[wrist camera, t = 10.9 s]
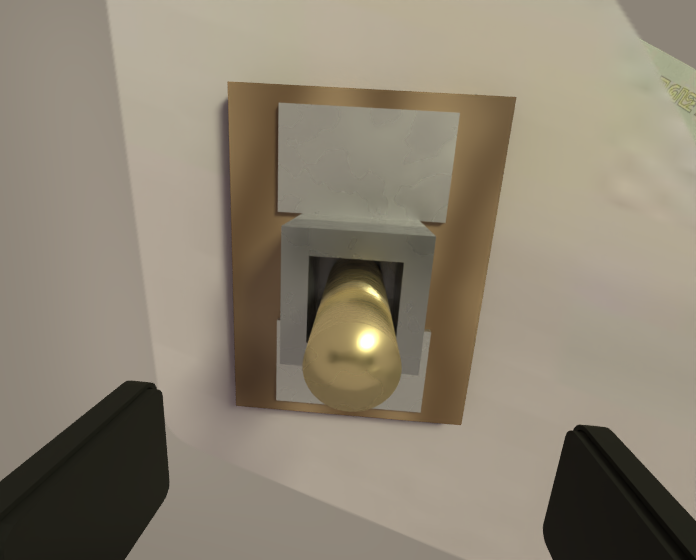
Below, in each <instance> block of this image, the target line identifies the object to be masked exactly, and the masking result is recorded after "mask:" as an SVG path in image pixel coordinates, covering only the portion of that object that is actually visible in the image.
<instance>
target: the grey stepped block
mask: <svg viewBox="0 0 696 560" xmlns="http://www.w3.org/2000/svg"><path fill="white" fill-rule="evenodd" d="M459 117H460V113H455V112H437V111H420V110H402V109H384V108H366V107H348V106H330V105H312V104H294V103H279V121H278V212H290V213H302V214H301V215H299V216H297V217H296V218H294V219H292V220H290V221H289V222H287V223H285V224H284V225H282V226H281V307H280V318H278V319H277V374H276V400H279V401H291V402H302V403H314V404H324V403H322V402H321V401H319V400H318V399H317V398H316V397H315V396H314V395H313V394H312V392H311V391H310V390H309V388H308V386H307V384H306V382H305V379H304V376H303V370H302V364H303V357H304V354H305V350H306V347H307V344H308V341H309V337H310V334H311V331H312V328H313V325H314V321H315V318H316V315H317V312H318V308H319V305H320V302H321V299H322V295H323V292H324V289H325V286H326V282H327V279H328V276H329V273H330V271H331V269H332V267H333V266H334V265H335V263H337V262H338V261H339V260H340V259H342V258H346V259H361V260H372V261H373V262H375V263H376V264H377V266H378V267H379V269H380V270H381V273H382V276H383V281H384V285H385V290H386V294H387V299H388V303H389V308H390V313H391V317H392V322H393V326H394V331H395V336H396V340H397V345H398V349H399V354H400V358H401V365H402V370H401V377H400V381H399V383H398V386H397V387H396V389H395V391H394V392H393V393H392V395H391V396H390V397H389V398H388V399H387V400H385V401H384V402H383V403H381V404H380V405H378V406H376V407H374V408H372V409H384V410H396V411H407V412H419V413H421V405H422V398H423V390H424V383H425V375H426V367H427V360H428V352H429V345H430V337H431V330H429V329H425V321H426V313H427V305H428V297H429V289H430V281H431V273H432V265H433V257H434V250H435V242H436V236H435V235H434V234H433V233H432V232H431V231H430V230H429V229H428V228H427V227H426V226H425V225H424V224H422V223H421V222H420V221H425V222H440V223H446V215H447V208H448V200H449V193H450V185H451V178H452V170H453V162H454V155H455V147H456V140H457V132H458V124H459Z"/></svg>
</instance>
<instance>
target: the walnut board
mask: <svg viewBox="0 0 696 560" xmlns="http://www.w3.org/2000/svg"><path fill="white" fill-rule="evenodd" d="M515 102H516V97H504V96H486V95H467V94H449V93H430V92H412V91H393V90H375V89H356V88H338V87H319V86H300V85H282V84H263V83H245V82H228V116H229V154H230V192H231V230H232V268H233V306H234V344H235V382H236V406H246V407H258V408H269V409H281V410H293V411H304V412H316V413H327V414H339V415H350V416H362V417H373V418H385V419H396V420H408V421H420V422H431V423H443V424H454V425H461V423H462V417H463V411H464V405H465V399H466V393H467V387H468V381H469V375H470V370H471V364H472V358H473V352H474V346H475V340H476V334H477V328H478V322H479V316H480V310H481V304H482V298H483V292H484V286H485V280H486V275H487V269H488V263H489V257H490V251H491V245H492V239H493V233H494V227H495V221H496V215H497V209H498V203H499V197H500V191H501V185H502V179H503V174H504V168H505V162H506V156H507V150H508V144H509V138H510V132H511V126H512V120H513V114H514V108H515ZM279 103H294V104H312V105H330V106H348V107H366V108H384V109H402V110H420V111H437V112H455V113H460V117H459V124H458V132H457V140H456V147H455V155H454V162H453V170H452V178H451V185H450V193H449V200H448V208H447V215H446V223H440V222H425V221H420V222H421V223H422V224H424V225H425V226H426V227H427V228H428V229H429V230H430V231H431V232H432V233H433V234H434V235H435V236H436V242H435V250H434V257H433V265H432V273H431V281H430V289H429V297H428V305H427V313H426V321H425V329H429V330H431V337H430V345H429V352H428V360H427V367H426V375H425V383H424V390H423V398H422V405H421V413H419V412H407V411H396V410H384V409H372V408H371V409H368V410H364V411H358V412H347V411H341V410H337V409H334V408H331V407H329V406H327V405H325V404H314V403H302V402H291V401H279V400H276V374H277V319H278V318H280V307H281V226H282V225H284V224H285V223H287V222H289V221H290V220H292V219H294V218H296V217H297V216H299V215H301V214H302V213H290V212H278V121H279Z"/></svg>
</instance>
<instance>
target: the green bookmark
mask: <svg viewBox="0 0 696 560" xmlns="http://www.w3.org/2000/svg"><path fill="white" fill-rule="evenodd" d="M639 39H640V38H639ZM640 40H641V41H642V43H643V45H644V47H645V48H646V51H647V52H648V54H649V56H650V57H651V59H652V61H653V63H654V65H655V67H656V68H657V71H658V72H659V74H660V76H661V78H662V80H663V82H664V83H665V86H666V88H667V89H668V92H669V93H670V95H671V97H672V99H673V101H674V103H675V104H676V107H677V108H678V110H679V112H680V114H681V116H682V118H683V120H684V122H685V123H686V126H687V127H688V129H689V132H690V133H691V135H692V137H693V139H694V141H695V142H696V69H694V68H692V67H691V66H689V65H687V64H685V63H683V62H682V61H680V60H678V59H676V58H674V57H673V56H671V55H669V54H667V53H665V52H664V51H662V50H660V49H658V48H656V47H654V46H653V45H651V44H649V43H647V42H645V41H644V40H642V39H640Z"/></svg>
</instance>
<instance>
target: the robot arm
mask: <svg viewBox="0 0 696 560" xmlns="http://www.w3.org/2000/svg"><path fill="white" fill-rule="evenodd" d="M168 489H169V470H168V457H167V445H166V432H165V419H164V407H163V395H162V392H161V391H160V390H157V388H156V386H155V384H153V383H149V382H140V381H126V382H124V383H123V384H121V385H120V386H119V387H118V388H117V389H115V390H114V391H113V392H111V393H110V394H109V395H108V396H106V397H105V398H104V399H103V400H101V401H100V402H99V403H98V404H97V405H95V406H94V407H93V408H92V409H90V410H89V411H88V412H86V413H85V414H84V415H83V416H81V417H80V418H79V419H78V420H76V422H74V423H73V424H72V425H70V426H69V427H68V428H66V429H65V430H64V431H63V432H61V433H60V434H59V435H58V436H57V437H55V438H54V439H53V440H52V441H50V442H49V443H48V444H46V445H45V446H44V447H43V448H41V449H40V450H39V451H38V452H37V453H35V454H34V455H33V456H31V457H30V458H29V459H28V460H26V461H25V462H24V463H23V464H21V465H20V466H19V467H18V468H16V469H15V470H14V471H13V472H11V473H10V474H9V475H8V476H6V477H5V478H4V479H3V480H2V481H1V482H0V560H125V558H126V557H127V555H128V554H129V552H130V551H131V549H132V548H133V546H134V545H135V543H136V541H137V540H138V538H139V537H140V536H141V534H142V533H143V531H144V530H145V528H146V527H147V525H148V524H149V522H150V521H151V519H152V518H153V516H154V515H155V513H156V512H157V510H158V509H159V507H160V506H161V504H162V503H163V501H164V499H165V498H166V495H167V493H168ZM543 535H544V540H545V543H546V546H547V548H548V550H549V552H550V555H551V557H552V559H553V560H696V521H695V520H694V519H693V518H692V516H691V515H690V514H689V513H688V512H687V511H686V510H685V509H684V508H683V507H682V506H681V505H680V504H679V503H678V501H677V500H676V499H675V498H674V497H673V496H672V495H671V494H670V493H669V492H668V491H667V490H666V489H665V487H664V486H663V485H662V484H661V483H660V482H659V481H658V480H657V479H656V478H655V477H654V476H653V475H652V474H651V472H650V471H649V470H648V469H647V468H646V467H645V466H644V465H643V464H642V463H641V462H640V461H639V460H638V459H637V457H636V456H635V455H634V454H633V453H632V452H631V451H630V450H629V449H628V448H627V447H626V446H625V445H624V443H623V442H622V441H621V440H620V439H619V438H618V437H617V436H616V435H615V434H614V433H613V432H612V431H611V430H610V429H609V428H606V427H599V426H589V425H577V426H576V427H575V428H574V430H573V431H568V432H567V434H566V436H565V440H564V444H563V448H562V452H561V456H560V460H559V464H558V468H557V472H556V476H555V480H554V484H553V488H552V492H551V496H550V500H549V504H548V508H547V512H546V516H545V520H544V524H543Z"/></svg>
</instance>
